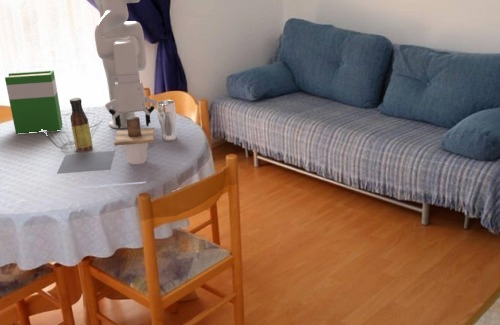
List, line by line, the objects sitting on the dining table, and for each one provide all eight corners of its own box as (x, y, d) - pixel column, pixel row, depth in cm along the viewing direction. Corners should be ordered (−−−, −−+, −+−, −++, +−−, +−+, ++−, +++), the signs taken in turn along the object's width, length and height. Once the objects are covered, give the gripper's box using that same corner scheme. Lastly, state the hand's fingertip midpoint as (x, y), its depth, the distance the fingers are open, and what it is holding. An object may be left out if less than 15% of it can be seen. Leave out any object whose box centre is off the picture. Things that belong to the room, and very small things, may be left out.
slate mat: (65, 155, 214) (65, 154, 214) (115, 151, 216) (115, 150, 215) (56, 174, 197) (56, 173, 197) (110, 170, 199) (110, 169, 199)
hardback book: (16, 134, 238) (4, 77, 229) (19, 129, 245) (8, 73, 236) (60, 131, 240) (50, 74, 231) (62, 125, 247) (53, 70, 238)
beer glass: (179, 136, 230) (176, 99, 224) (175, 142, 223) (172, 104, 218) (162, 136, 230) (159, 99, 225) (158, 142, 224) (154, 104, 218)
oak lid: (117, 132, 207) (115, 114, 205) (154, 130, 209) (152, 111, 206) (114, 145, 195) (111, 125, 193) (153, 142, 197) (151, 123, 194)
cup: (127, 169, 199) (124, 144, 196) (119, 160, 208) (116, 136, 204) (155, 163, 204) (152, 139, 200) (146, 154, 212) (143, 131, 208)
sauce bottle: (96, 148, 220) (89, 97, 213) (85, 153, 215) (77, 102, 208) (82, 145, 223) (75, 96, 215) (71, 151, 218) (63, 100, 210)
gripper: (100, 82, 190) (107, 131, 196) (153, 78, 191) (158, 127, 198) (103, 76, 196) (109, 124, 203) (154, 73, 198) (159, 121, 205)
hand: (133, 126), depth 200 cm, fingers open, 9 cm apart
